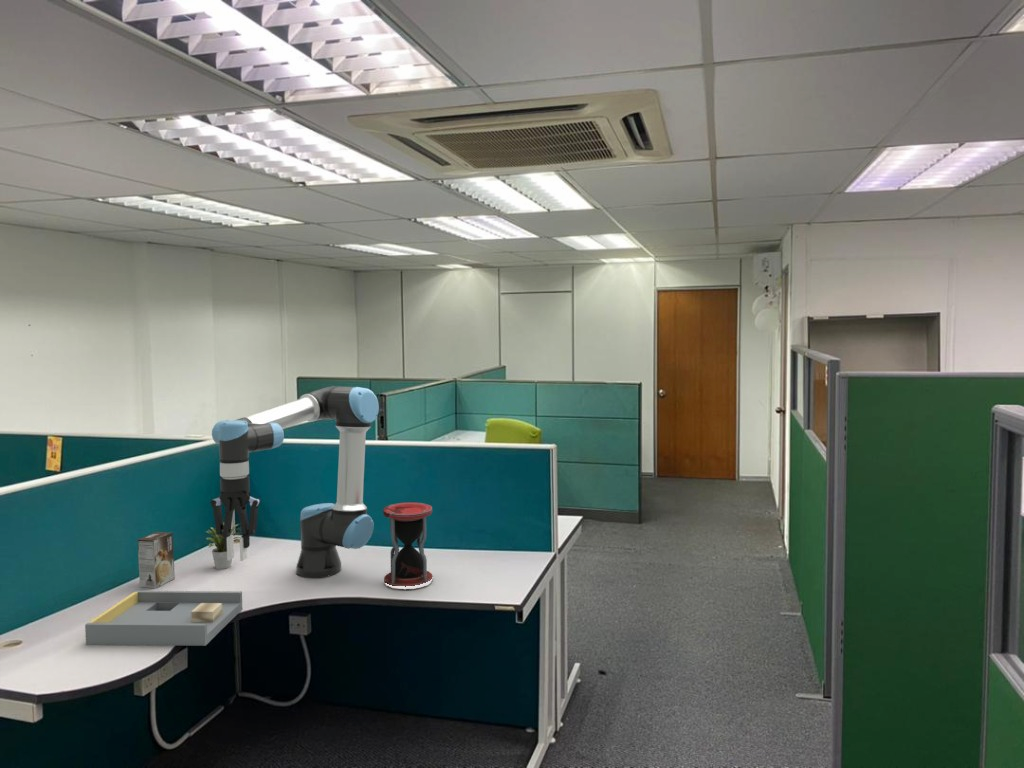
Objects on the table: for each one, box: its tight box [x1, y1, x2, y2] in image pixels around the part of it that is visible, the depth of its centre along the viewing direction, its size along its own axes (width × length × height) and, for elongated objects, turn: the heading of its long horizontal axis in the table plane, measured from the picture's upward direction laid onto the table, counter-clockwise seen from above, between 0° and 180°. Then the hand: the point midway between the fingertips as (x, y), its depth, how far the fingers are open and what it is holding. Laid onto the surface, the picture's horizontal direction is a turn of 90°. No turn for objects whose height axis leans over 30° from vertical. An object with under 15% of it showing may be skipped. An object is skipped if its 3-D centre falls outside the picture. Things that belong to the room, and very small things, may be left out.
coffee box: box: [137, 531, 176, 589], centre depth 227 cm, size 9×6×16 cm
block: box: [191, 603, 222, 622], centre depth 193 cm, size 6×6×3 cm
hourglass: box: [382, 502, 434, 587], centre depth 228 cm, size 16×16×25 cm
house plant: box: [205, 521, 242, 570], centre depth 241 cm, size 14×14×16 cm
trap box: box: [84, 590, 243, 647], centre depth 194 cm, size 32×24×6 cm
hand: (237, 558), depth 192 cm, fingers open, 3 cm apart
